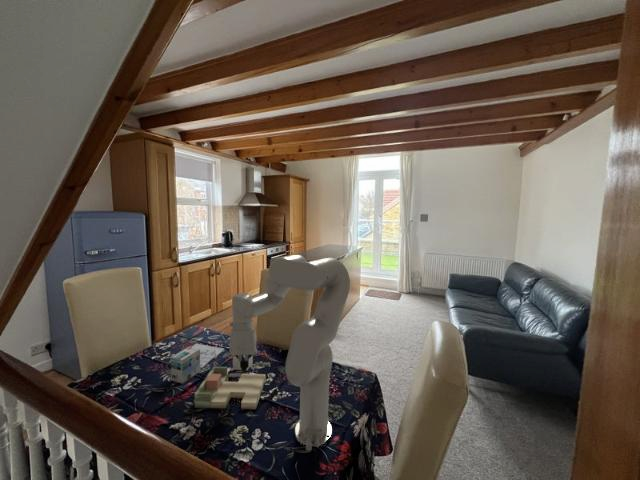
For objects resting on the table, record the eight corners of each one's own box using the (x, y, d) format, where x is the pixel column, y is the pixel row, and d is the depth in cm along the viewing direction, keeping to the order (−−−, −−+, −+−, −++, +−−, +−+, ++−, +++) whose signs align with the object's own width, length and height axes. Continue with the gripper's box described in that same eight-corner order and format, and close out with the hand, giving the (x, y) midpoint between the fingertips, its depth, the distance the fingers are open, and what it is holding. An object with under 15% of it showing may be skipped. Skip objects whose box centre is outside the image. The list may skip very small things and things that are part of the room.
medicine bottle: (252, 362, 131) (252, 339, 130) (247, 371, 124) (247, 346, 123) (238, 361, 132) (238, 338, 130) (232, 369, 124) (232, 345, 123)
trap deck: (255, 409, 100) (255, 395, 99) (194, 407, 100) (194, 393, 99) (265, 379, 118) (265, 367, 117) (213, 378, 118) (213, 366, 117)
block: (217, 390, 106) (217, 380, 106) (206, 389, 106) (206, 380, 106) (221, 383, 111) (221, 373, 110) (210, 382, 111) (210, 373, 110)
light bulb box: (182, 384, 113) (182, 360, 112) (170, 380, 115) (169, 357, 114) (201, 370, 123) (200, 348, 122) (189, 367, 125) (189, 345, 124)
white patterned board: (167, 364, 128) (167, 360, 128) (196, 345, 148) (196, 341, 148) (201, 370, 124) (201, 366, 124) (226, 350, 143) (226, 346, 143)
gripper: (220, 328, 102) (222, 374, 103) (259, 328, 102) (261, 374, 103) (227, 321, 110) (229, 364, 111) (263, 321, 110) (265, 364, 111)
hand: (244, 369), depth 107 cm, fingers closed
